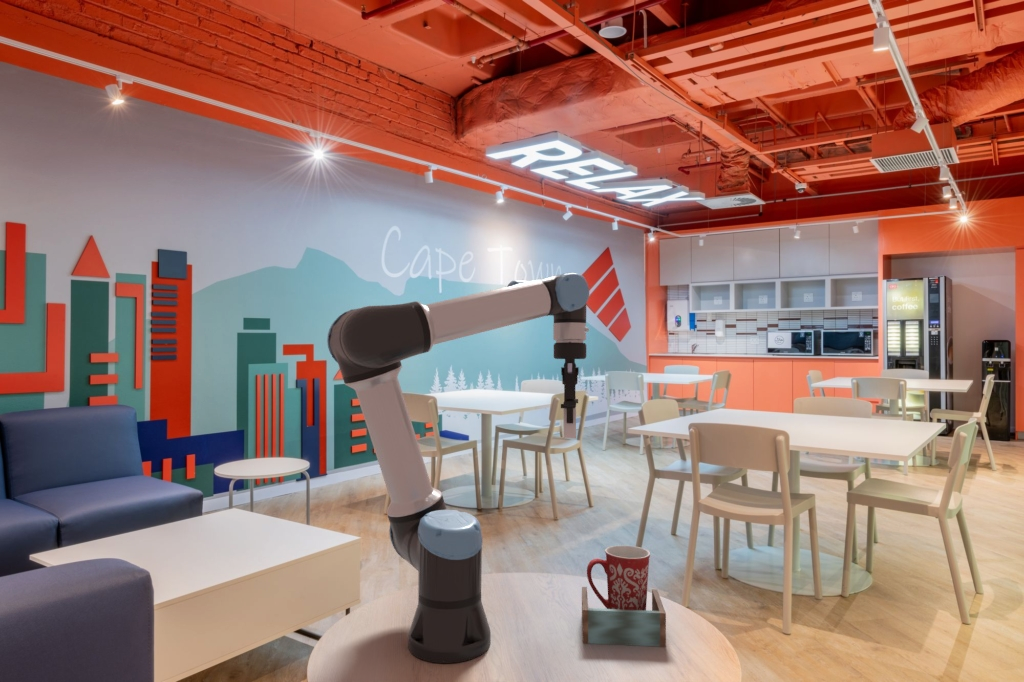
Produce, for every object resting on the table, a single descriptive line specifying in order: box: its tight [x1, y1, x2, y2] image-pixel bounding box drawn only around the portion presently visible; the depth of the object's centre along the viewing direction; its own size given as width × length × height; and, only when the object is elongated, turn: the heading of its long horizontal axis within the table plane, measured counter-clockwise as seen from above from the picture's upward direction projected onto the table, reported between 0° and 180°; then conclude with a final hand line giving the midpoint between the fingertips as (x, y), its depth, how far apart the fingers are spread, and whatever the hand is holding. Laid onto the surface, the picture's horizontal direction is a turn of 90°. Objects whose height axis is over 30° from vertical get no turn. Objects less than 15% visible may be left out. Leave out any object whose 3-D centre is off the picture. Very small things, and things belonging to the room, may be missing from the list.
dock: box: [581, 586, 667, 648], centre depth 123 cm, size 15×12×6 cm
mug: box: [586, 544, 651, 610], centre depth 129 cm, size 13×9×14 cm
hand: (569, 434), depth 147 cm, fingers open, 13 cm apart
